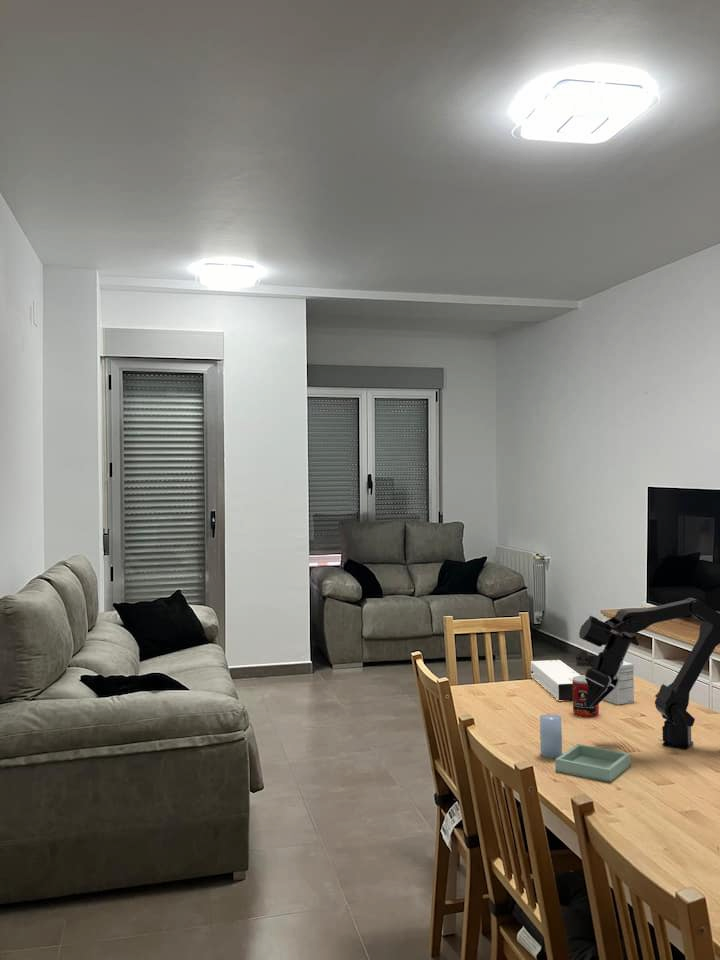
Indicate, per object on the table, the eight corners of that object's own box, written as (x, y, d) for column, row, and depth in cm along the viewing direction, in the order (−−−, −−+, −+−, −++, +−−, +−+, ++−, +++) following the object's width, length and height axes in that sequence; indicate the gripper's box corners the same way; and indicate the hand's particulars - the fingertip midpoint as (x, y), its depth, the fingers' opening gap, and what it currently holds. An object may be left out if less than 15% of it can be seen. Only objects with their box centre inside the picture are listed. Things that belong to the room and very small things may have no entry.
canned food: (570, 716, 256) (569, 680, 256) (576, 709, 263) (575, 674, 263) (595, 719, 253) (595, 682, 253) (601, 711, 260) (600, 676, 260)
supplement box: (601, 700, 273) (600, 661, 273) (619, 697, 276) (618, 658, 276) (617, 705, 266) (616, 666, 266) (635, 702, 269) (634, 663, 269)
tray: (630, 765, 213) (630, 753, 213) (609, 782, 202) (609, 770, 202) (578, 755, 221) (577, 743, 221) (555, 771, 210) (555, 759, 210)
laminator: (592, 701, 273) (592, 682, 273) (555, 703, 272) (555, 684, 272) (560, 676, 307) (560, 659, 307) (527, 677, 306) (527, 661, 306)
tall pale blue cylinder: (565, 753, 223) (564, 716, 223) (556, 759, 218) (555, 721, 218) (546, 750, 226) (545, 713, 226) (537, 755, 222) (536, 718, 222)
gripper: (592, 641, 238) (569, 691, 238) (579, 638, 222) (555, 692, 221) (629, 659, 233) (606, 710, 232) (619, 657, 216) (594, 713, 216)
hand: (590, 706), depth 226 cm, fingers open, 9 cm apart
